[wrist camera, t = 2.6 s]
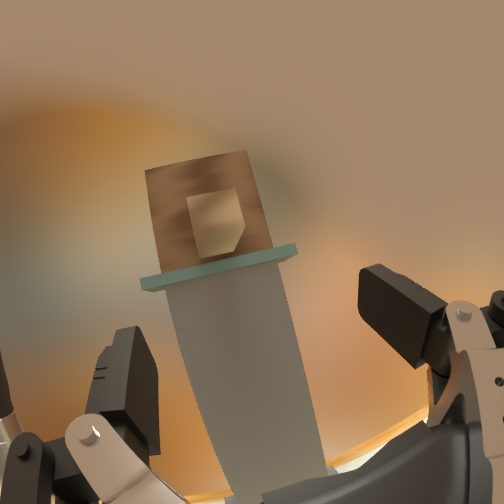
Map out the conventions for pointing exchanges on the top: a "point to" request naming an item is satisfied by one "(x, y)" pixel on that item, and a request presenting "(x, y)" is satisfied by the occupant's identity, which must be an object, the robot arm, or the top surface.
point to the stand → (246, 370)
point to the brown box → (206, 211)
